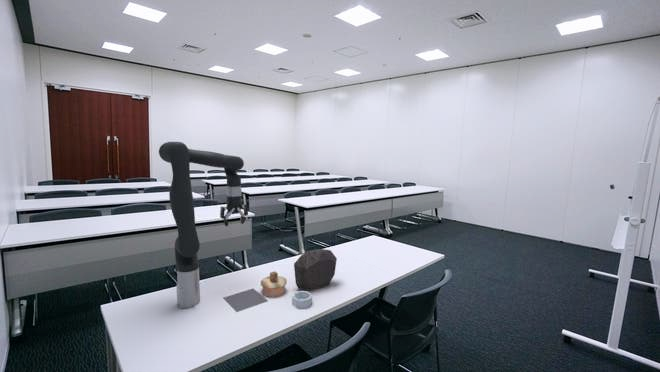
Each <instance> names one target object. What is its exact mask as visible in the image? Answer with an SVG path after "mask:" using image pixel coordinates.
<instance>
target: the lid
mask: <svg viewBox="0 0 660 372" xmlns="http://www.w3.org/2000/svg"><path fill="white" fill-rule="evenodd" d="M287 283H288V281H287V279H286V277H284V276H281V275H279V273H278V272H277V271H272V272H271V271H270V273H269V276H266V277H264V278H262V279H261V280H260V286H261V287H262V288H263V287H264V288H268V289H276V288H281V287H283V286H285V287H286V285H287Z"/></svg>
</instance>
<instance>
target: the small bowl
mask: <svg viewBox="0 0 660 372" xmlns="http://www.w3.org/2000/svg"><path fill="white" fill-rule="evenodd" d="M312 304H313V294H312V293H310V292H309V291H308V290H307V291H306V290H299V291H296V292H293V294H292V297H291V305H292V306H294V307H295V308H297V309H302V310H303V309H307V308H310V307H312Z"/></svg>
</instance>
